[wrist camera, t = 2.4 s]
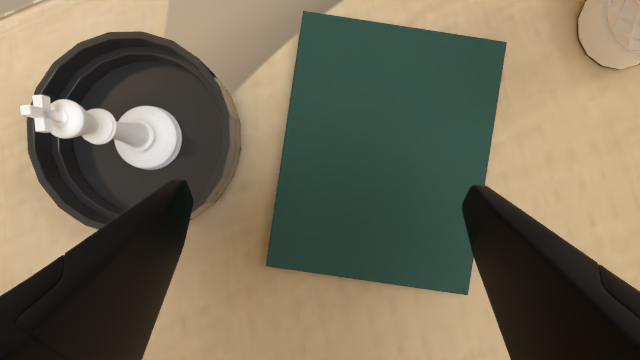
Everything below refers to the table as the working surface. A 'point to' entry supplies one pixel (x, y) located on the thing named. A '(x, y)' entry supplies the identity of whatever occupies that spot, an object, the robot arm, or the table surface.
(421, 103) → the desk mat
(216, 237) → the table surface
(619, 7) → the white cup
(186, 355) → the table surface
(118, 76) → the dish
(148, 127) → the chess piece
